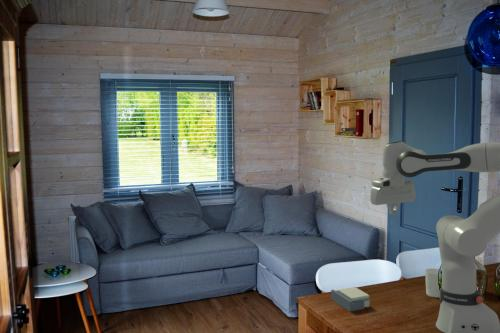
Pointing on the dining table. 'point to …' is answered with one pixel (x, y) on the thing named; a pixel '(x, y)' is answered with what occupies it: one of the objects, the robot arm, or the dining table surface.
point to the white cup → (432, 283)
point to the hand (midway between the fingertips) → (393, 213)
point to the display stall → (346, 302)
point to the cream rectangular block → (355, 295)
